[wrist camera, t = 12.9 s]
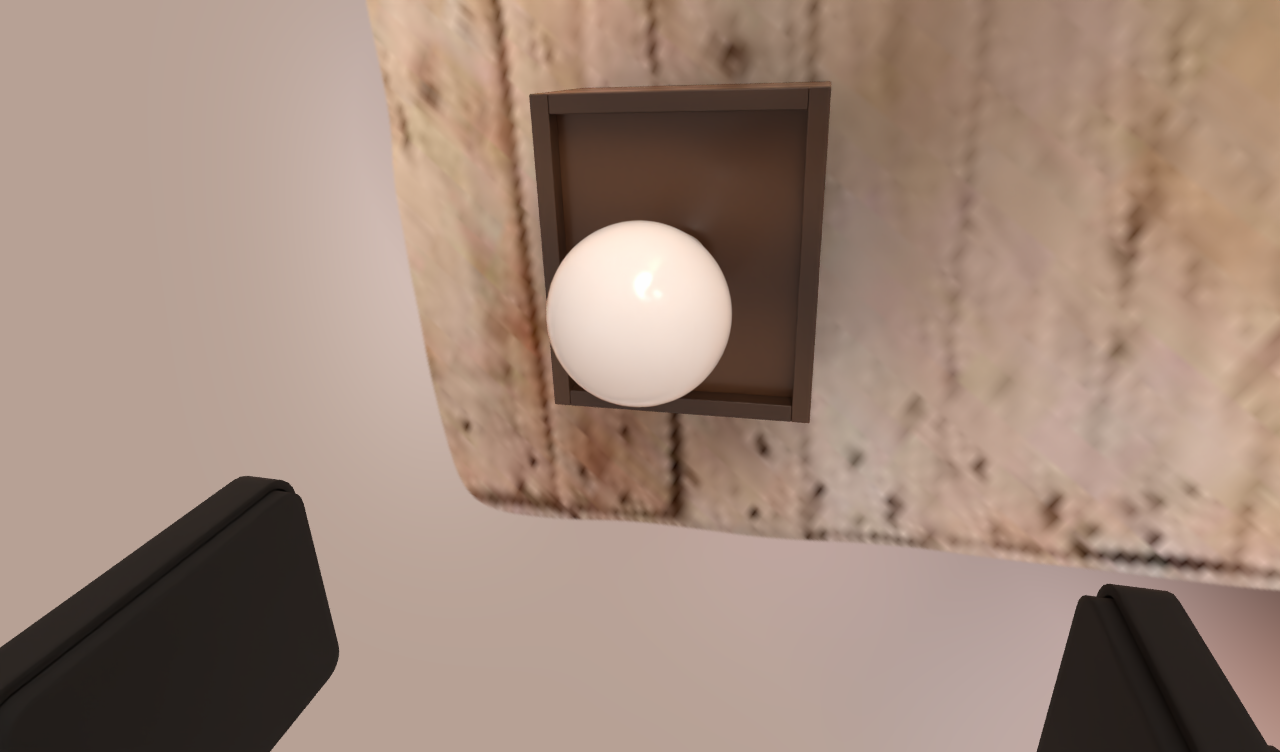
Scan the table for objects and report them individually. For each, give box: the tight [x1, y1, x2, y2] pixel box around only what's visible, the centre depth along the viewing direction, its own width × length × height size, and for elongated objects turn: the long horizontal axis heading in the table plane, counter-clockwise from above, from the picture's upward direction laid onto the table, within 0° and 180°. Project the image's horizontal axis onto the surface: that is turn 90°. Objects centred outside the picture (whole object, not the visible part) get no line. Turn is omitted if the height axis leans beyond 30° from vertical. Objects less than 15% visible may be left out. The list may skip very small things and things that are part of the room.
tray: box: [529, 81, 831, 423], centre depth 35 cm, size 14×12×7 cm
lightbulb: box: [546, 220, 732, 407], centre depth 27 cm, size 6×6×11 cm
